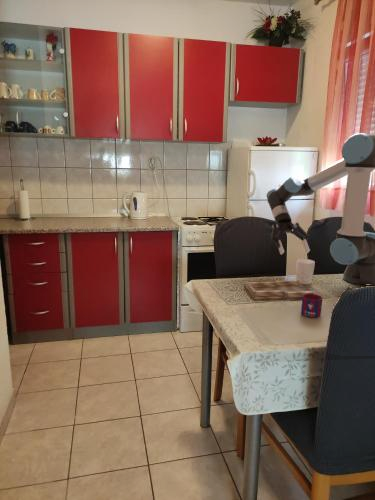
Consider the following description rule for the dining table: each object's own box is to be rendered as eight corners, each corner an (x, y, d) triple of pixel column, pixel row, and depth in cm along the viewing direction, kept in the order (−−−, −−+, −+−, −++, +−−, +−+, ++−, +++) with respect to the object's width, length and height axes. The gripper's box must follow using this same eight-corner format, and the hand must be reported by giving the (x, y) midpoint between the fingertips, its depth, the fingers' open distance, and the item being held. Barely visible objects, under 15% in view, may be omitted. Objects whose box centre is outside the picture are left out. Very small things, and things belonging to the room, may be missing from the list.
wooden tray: (297, 285, 161) (297, 279, 161) (313, 299, 145) (314, 293, 144) (244, 286, 159) (244, 280, 158) (255, 300, 143) (255, 294, 142)
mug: (299, 316, 128) (301, 297, 127) (304, 306, 137) (305, 289, 135) (319, 320, 125) (321, 301, 124) (322, 310, 134) (324, 292, 133)
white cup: (310, 279, 170) (312, 259, 168) (314, 285, 162) (316, 263, 160) (293, 279, 171) (295, 258, 168) (296, 284, 163) (298, 262, 161)
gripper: (300, 220, 188) (314, 255, 177) (256, 221, 181) (268, 258, 171) (307, 211, 182) (322, 247, 171) (261, 212, 175) (274, 249, 164)
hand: (295, 252), depth 171 cm, fingers open, 13 cm apart
